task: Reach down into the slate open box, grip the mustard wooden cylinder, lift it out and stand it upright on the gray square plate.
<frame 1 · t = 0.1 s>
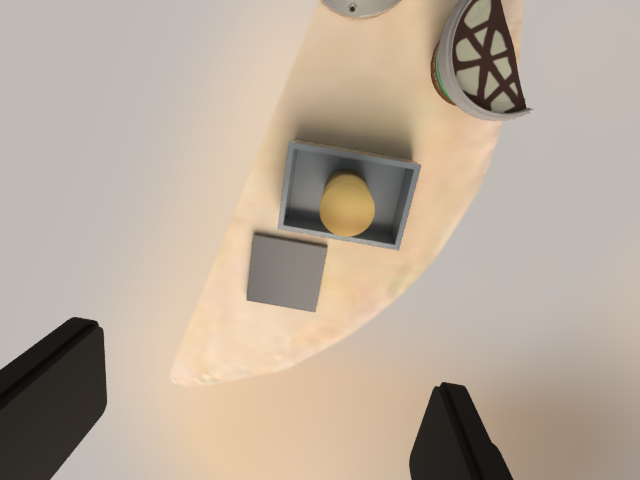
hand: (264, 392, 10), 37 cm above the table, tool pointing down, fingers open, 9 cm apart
slate open box: (345, 189, 45), on the table
mustard cylinder: (345, 190, 44), resting on slate open box
gray square plate: (286, 272, 49), on the table
food container: (448, 74, 40), on the table
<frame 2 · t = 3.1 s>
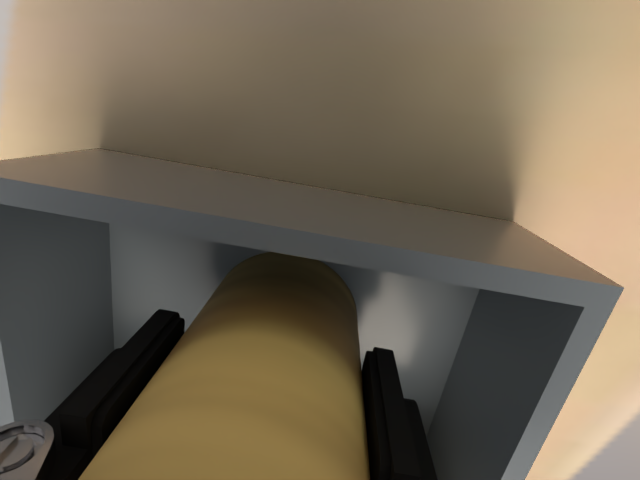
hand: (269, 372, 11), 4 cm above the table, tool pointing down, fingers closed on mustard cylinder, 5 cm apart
slate open box: (287, 311, 14), on the table
mustard cylinder: (285, 317, 13), point 1 cm above the table, touching gripper, slate open box
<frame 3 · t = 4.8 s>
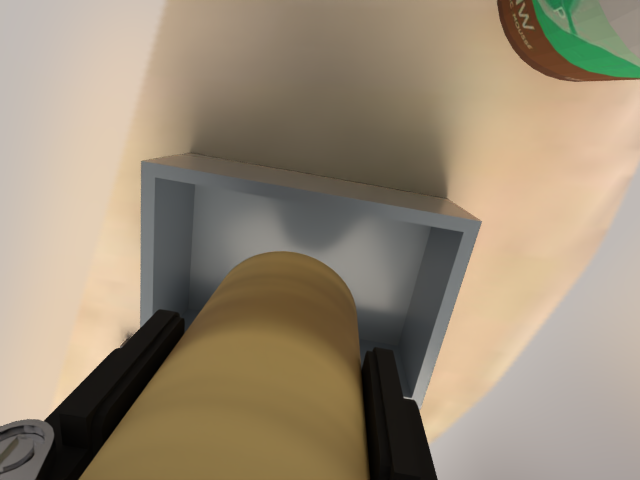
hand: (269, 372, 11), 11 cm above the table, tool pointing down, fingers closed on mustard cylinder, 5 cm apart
slate open box: (304, 259, 21), on the table
mustard cylinder: (285, 317, 13), point 8 cm above the table, touching gripper
food container: (537, 2, 17), on the table
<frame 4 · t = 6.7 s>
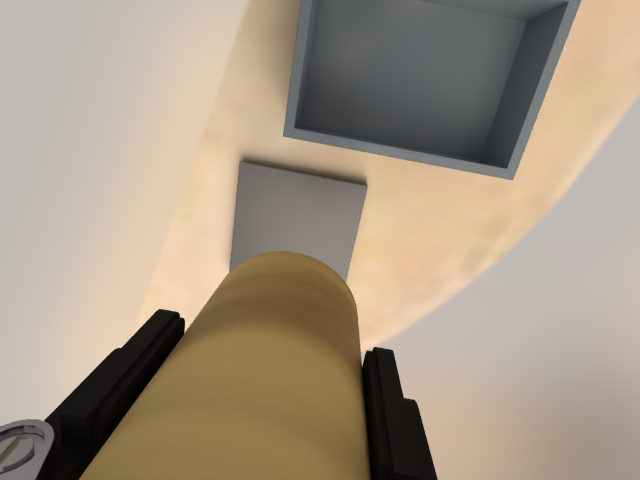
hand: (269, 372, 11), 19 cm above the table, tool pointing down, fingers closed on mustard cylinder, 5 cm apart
slate open box: (406, 77, 25), on the table
mustard cylinder: (285, 318, 13), point 16 cm above the table, touching gripper
gray square plate: (295, 231, 29), on the table
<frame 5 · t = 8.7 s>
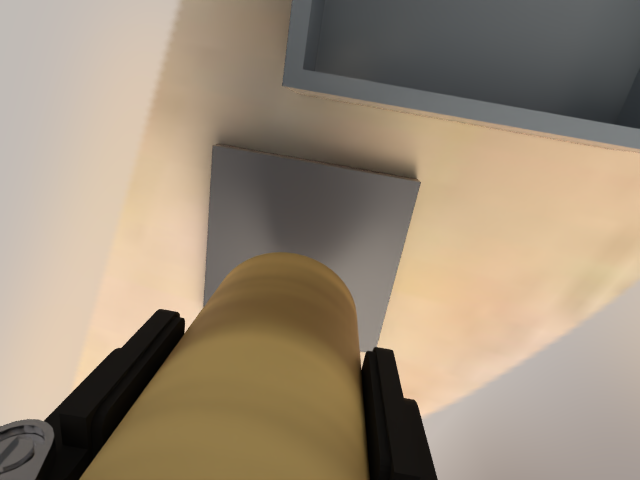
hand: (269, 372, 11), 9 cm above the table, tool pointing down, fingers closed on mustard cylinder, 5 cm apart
mustard cylinder: (284, 319, 13), point 6 cm above the table, touching gripper
gray square plate: (303, 253, 19), on the table
when the fingers open (5 cm above the table, at t = 10.3 s): mustard cylinder drops 2 cm, resting on gray square plate.
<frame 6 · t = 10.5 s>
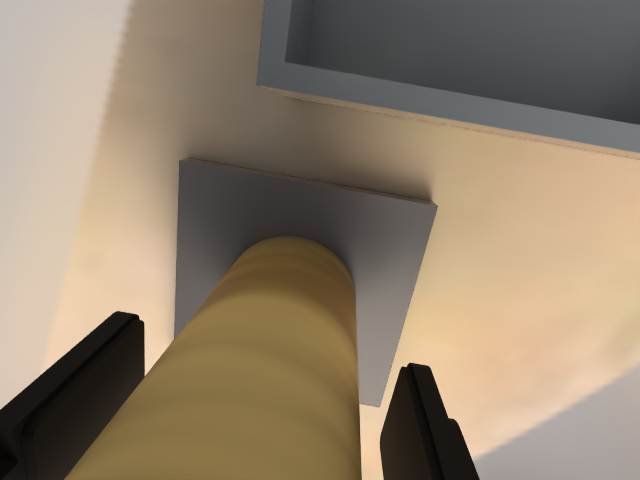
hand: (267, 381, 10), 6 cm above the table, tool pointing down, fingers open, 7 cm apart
mustard cylinder: (290, 296, 15), point 1 cm above the table, touching gray square plate
gray square plate: (293, 289, 16), on the table
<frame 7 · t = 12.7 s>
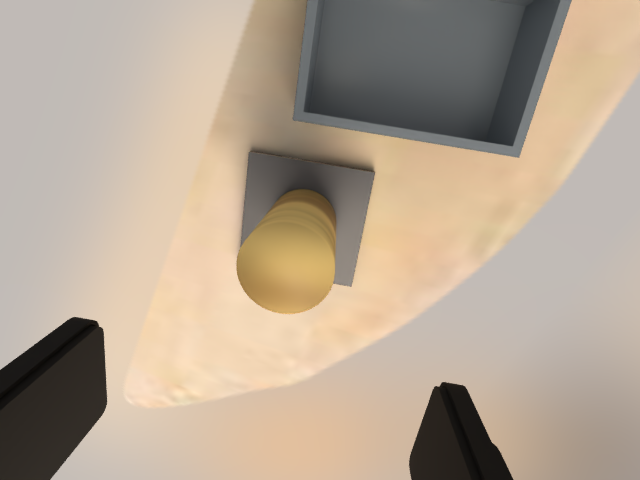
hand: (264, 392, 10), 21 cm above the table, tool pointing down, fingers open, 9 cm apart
slate open box: (409, 64, 25), on the table
mustard cylinder: (303, 221, 29), point 1 cm above the table, touching gray square plate
gray square plate: (303, 220, 30), on the table
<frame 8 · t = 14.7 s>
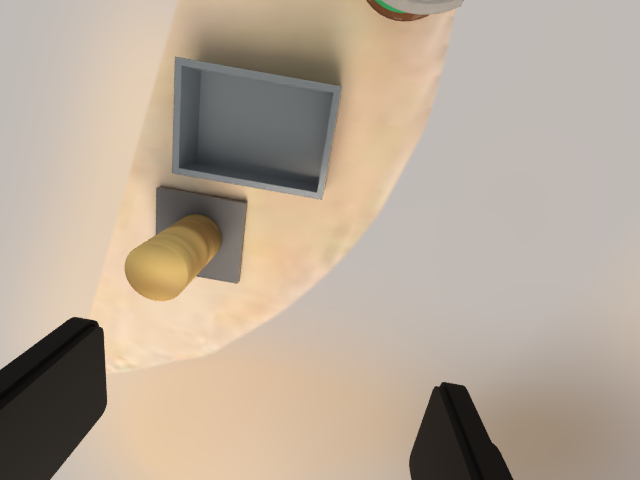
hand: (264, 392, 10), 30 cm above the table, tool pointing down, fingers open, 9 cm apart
slate open box: (263, 130, 37), on the table
mustard cylinder: (198, 237, 40), point 1 cm above the table, touching gray square plate
gray square plate: (201, 235, 41), on the table
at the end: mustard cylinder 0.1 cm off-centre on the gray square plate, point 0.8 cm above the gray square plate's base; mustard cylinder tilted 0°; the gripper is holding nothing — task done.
